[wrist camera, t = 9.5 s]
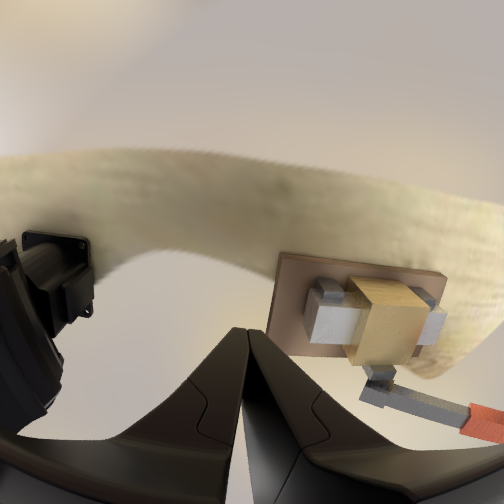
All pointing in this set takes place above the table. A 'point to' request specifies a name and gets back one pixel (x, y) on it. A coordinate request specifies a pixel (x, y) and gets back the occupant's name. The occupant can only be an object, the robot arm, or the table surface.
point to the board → (308, 268)
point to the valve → (372, 321)
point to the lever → (437, 410)
